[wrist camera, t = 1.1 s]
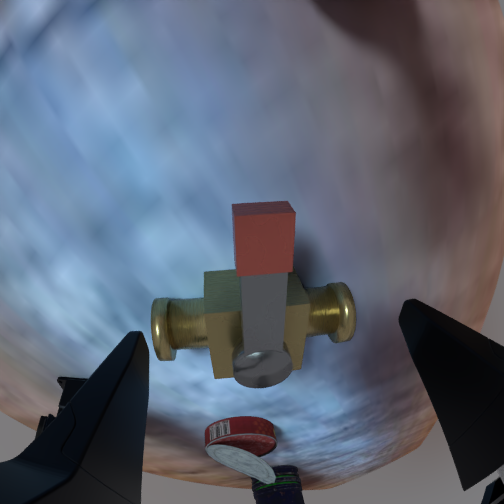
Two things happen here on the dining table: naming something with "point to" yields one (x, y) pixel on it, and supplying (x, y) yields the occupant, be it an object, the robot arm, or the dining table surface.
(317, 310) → the valve
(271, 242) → the lever
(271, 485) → the storage jar
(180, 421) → the dining table surface
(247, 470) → the canned food
